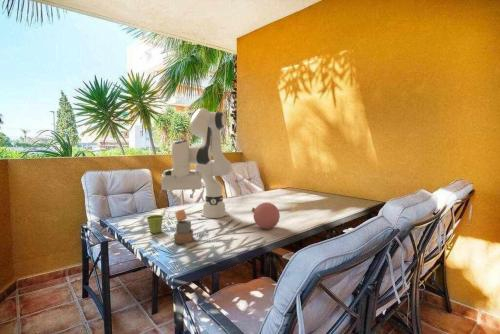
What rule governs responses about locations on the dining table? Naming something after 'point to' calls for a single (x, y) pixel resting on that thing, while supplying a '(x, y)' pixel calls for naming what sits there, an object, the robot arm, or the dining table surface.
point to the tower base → (183, 237)
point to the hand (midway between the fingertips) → (182, 198)
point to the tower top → (183, 227)
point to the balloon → (266, 215)
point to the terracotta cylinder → (180, 215)
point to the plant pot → (155, 223)
